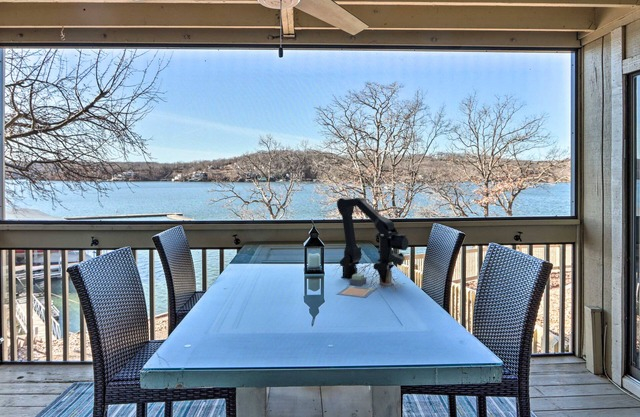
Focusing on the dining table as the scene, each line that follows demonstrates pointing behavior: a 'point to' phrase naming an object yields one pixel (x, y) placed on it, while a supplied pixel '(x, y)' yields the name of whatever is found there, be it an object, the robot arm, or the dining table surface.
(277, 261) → the dining table surface
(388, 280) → the block
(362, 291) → the picture mat
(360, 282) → the button housing
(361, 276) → the button
